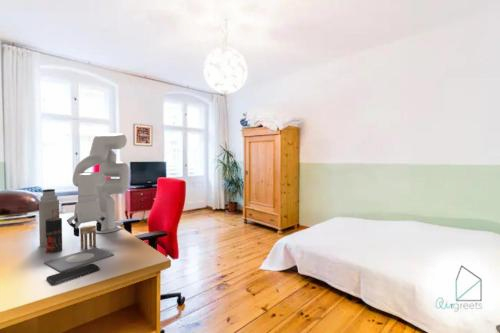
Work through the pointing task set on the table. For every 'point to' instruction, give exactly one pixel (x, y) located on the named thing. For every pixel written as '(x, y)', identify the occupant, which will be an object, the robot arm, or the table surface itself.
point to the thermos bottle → (47, 212)
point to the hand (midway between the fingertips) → (88, 233)
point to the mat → (78, 259)
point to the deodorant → (53, 235)
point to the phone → (72, 274)
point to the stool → (89, 230)
